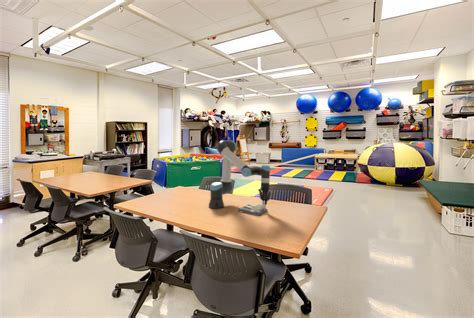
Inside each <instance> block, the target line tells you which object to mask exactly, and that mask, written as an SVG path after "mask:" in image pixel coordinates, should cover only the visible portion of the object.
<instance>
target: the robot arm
mask: <svg viewBox="0 0 474 318" xmlns="http://www.w3.org/2000/svg"><path fill="white" fill-rule="evenodd" d="M236 150H237V143H235V141H234V140H229V139H227V140H220V141H218V142H217V144H216V151H217V152H218V153H219V155H220V156H223V159H222V173H221V179H220V180H219V181H214V182H212V183H211V184H210V188H209V189H210V199H209V203H208V208H209V209H214V210H216V209H217V210H219V209H224V208H225V203H224V200H223V195H226V194H229V193H232V191H233V190H234V188H235V187H234V184H233V181H232V178H231V175H232V165H234V166H235V167H236V168H237V169H238V170H239V172H241V175H242V176H243V177H244V178H248V177H252V176H261V177H260V181H261V183H260V188H258V189H257V191H258V192H259V197H260V198H259V199H260V200H261V201H262V202H261V203H262V204H263V208H266V209H267V204H268V201H270V197H271V194H272V192H273V191H272V190H271V189H270V178H271V177H270V173H271V167H270V165H268V164H263V165H261V166H256V165H252V166H249V165H247V164H246V162H245V161H243V160H242V159H241V158H239V157H238V156H237V155H236V154H235V152H236Z"/></svg>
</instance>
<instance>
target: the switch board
mask: <svg viewBox="0 0 474 318" xmlns="http://www.w3.org/2000/svg"><path fill="white" fill-rule="evenodd" d="M252 205H253V204H247V205H243V206H242V207H238V208H237V211H238V212H240V213H244V214H249V215H254V216H257V217H259V216H260V215H263V214H265V213H267V212H268V209H267V207H266V208H263V209H262V210H259V209H258V211H251V207H252Z"/></svg>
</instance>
